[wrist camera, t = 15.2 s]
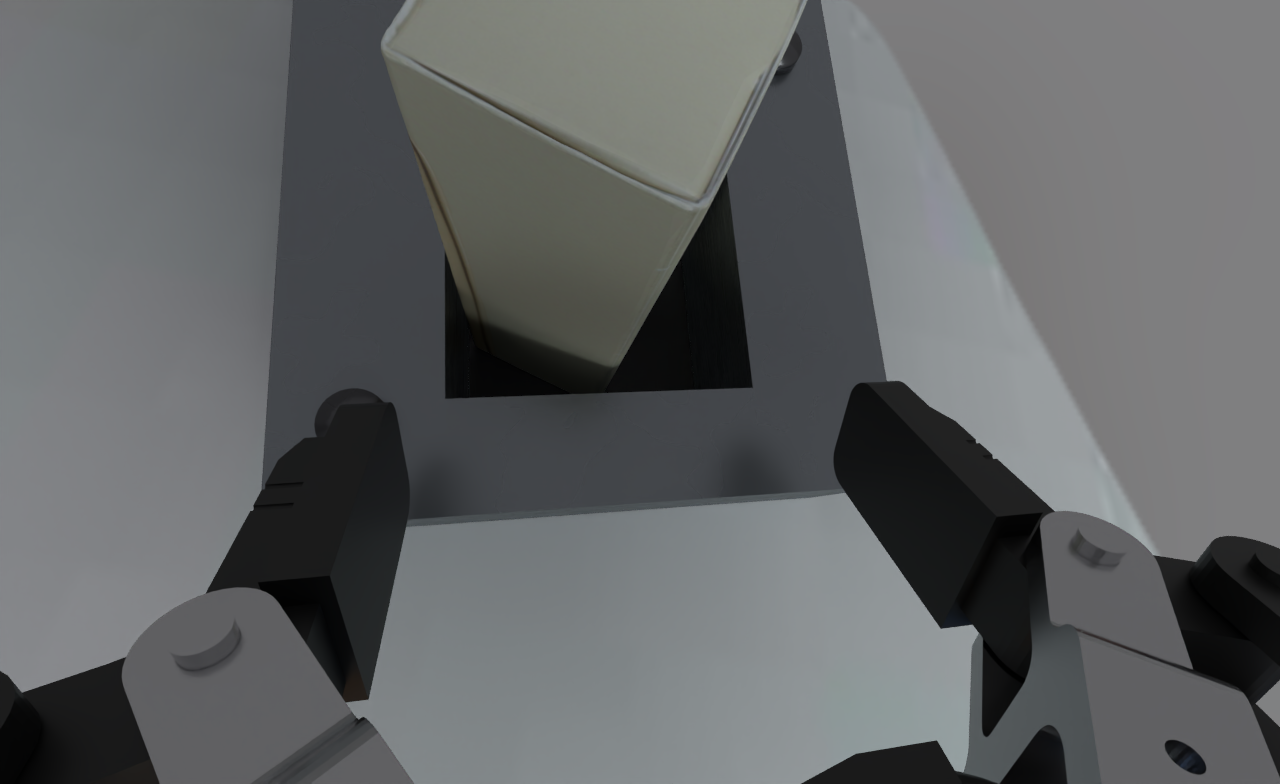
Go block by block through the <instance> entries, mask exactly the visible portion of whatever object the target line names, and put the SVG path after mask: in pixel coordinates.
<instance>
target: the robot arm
mask: <svg viewBox="0 0 1280 784" xmlns="http://www.w3.org/2000/svg"><path fill="white" fill-rule="evenodd" d="M833 463H834V470H835V474H836V477H837V480H838V482H839V484H840V485H841V487H842V488H843V490H844V491H845V492H846V494H847V495H848V497H849V498H850V500H851V501H852V502H853V504H854V505H855V507H856V508H857V510H858V511H859V512H860V514H861V515H862V517H863V518H864V520H865V521H866V522H867V524H868V525H869V527H870V528H871V530H872V531H873V532H874V534H875V535H876V537H877V538H878V540H879V541H880V542H881V544H882V545H883V547H884V548H885V550H886V551H887V552H888V554H889V555H890V557H891V558H892V560H893V561H894V562H895V564H896V565H897V567H898V568H899V570H900V571H901V572H902V574H903V575H904V577H905V578H906V580H907V581H908V582H909V584H910V585H911V587H912V588H913V590H914V591H915V592H916V594H917V595H918V597H919V598H920V600H921V601H922V602H923V604H924V605H925V607H926V608H927V610H928V611H929V612H930V614H931V615H932V617H933V618H934V620H935V621H936V622H937V624H938V625H939V627H940V628H941V629H942V628H950V627H957V626H965V625H973V626H974V627H975V628H976V630H977V631H978V632H979V634H978V636H977V638H976V639H975V641H974V643H973V645H972V654H971V688H970V721H969V749H968V756H967V761H966V766H965V769H964V772H963V773H962V772H958V771H955V770H954V769H953V767H952V765H951V764H950V762H949V760H948V759H947V757H946V755H945V753H944V752H943V750H942V748H941V747H940V745H939V743H938V741H931V742H925V743H919V744H913V745H907V746H901V747H895V748H889V749H883V750H877V751H871V752H865V753H859V754H855V755H853V756H851V757H850V758H848V759H846V760H844V761H842V762H840V763H839V764H837V765H835V766H833V767H831V768H829V769H827V770H826V771H824V772H822V773H820V774H818V775H816V776H815V777H813V778H811V779H809V780H807V781H805V782H804V783H802V784H1280V727H1279V726H1278V725H1277V724H1276V723H1275V722H1274V721H1273V720H1272V719H1271V718H1270V717H1269V716H1268V715H1267V714H1266V713H1265V712H1264V711H1263V710H1262V709H1260V708H1259V707H1258V706H1257V705H1256V704H1255V703H1256V702H1257V701H1258V700H1260V699H1261V698H1262V697H1263V695H1265V694H1266V693H1267V692H1268V691H1269V690H1270V689H1271V688H1272V687H1273V686H1274V685H1275V684H1276V683H1277V682H1278V681H1279V680H1280V549H1279V548H1276V547H1274V546H1271V545H1269V544H1266V543H1263V542H1260V541H1256V540H1253V539H1248V538H1243V537H1236V536H1224V537H1219V538H1216V539H1215V540H1213V541H1212V542H1211V544H1210V545H1209V546H1208V547H1207V549H1206V550H1205V551H1204V553H1203V554H1202V555H1201V556H1200V558H1199V559H1198V560H1197V562H1192V561H1186V560H1180V559H1173V558H1167V557H1160V556H1154V555H1152V553H1151V552H1150V551H1149V550H1148V549H1147V548H1146V547H1145V546H1144V545H1143V544H1142V543H1141V542H1139V541H1138V540H1137V539H1136V538H1134V537H1133V536H1132V535H1130V534H1129V533H1127V532H1125V531H1124V530H1122V529H1120V528H1119V527H1117V526H1115V525H1113V524H1111V523H1109V522H1106V521H1104V520H1102V519H1099V518H1096V517H1093V516H1090V515H1086V514H1083V513H1077V512H1070V511H1058V512H1055V511H1054V510H1053V509H1052V508H1050V507H1049V506H1048V505H1047V504H1046V503H1045V502H1044V501H1043V500H1042V499H1041V498H1039V497H1038V496H1037V495H1036V494H1035V493H1034V492H1033V491H1032V490H1031V489H1030V488H1028V487H1027V486H1026V485H1025V484H1024V483H1023V482H1022V481H1021V480H1020V479H1019V478H1017V477H1016V476H1015V475H1014V474H1013V473H1012V472H1011V471H1010V470H1009V469H1008V468H1006V467H1005V466H1004V465H1003V464H1002V463H1001V462H1000V461H999V460H998V459H993V458H992V454H991V453H990V452H989V451H988V450H987V449H986V448H984V447H983V446H982V445H981V444H980V443H978V444H976V439H975V438H973V437H972V436H971V435H970V434H969V433H968V432H967V431H966V430H965V429H964V428H962V427H961V426H960V425H959V424H958V423H957V422H956V421H954V420H952V419H951V418H949V417H947V416H945V415H943V414H942V413H940V412H938V411H936V410H934V409H933V408H931V407H929V406H928V405H927V404H926V403H925V402H924V401H923V400H922V399H921V398H920V397H919V396H917V395H916V394H915V393H914V392H913V391H912V390H911V389H910V388H909V387H908V386H907V385H906V384H904V383H903V382H900V381H887V382H864V383H859V384H857V385H856V386H855V387H854V388H853V389H852V391H851V394H850V397H849V400H848V404H847V407H846V411H845V414H844V418H843V421H842V425H841V428H840V432H839V435H838V439H837V442H836V446H835V450H834V456H833ZM253 506H254V510H253V511H250V513H249V515H248V516H247V518H246V520H245V522H244V524H243V526H242V528H241V529H240V531H239V533H238V535H237V537H236V539H235V540H234V542H233V544H232V546H231V548H230V550H229V551H228V553H227V555H226V557H225V559H224V561H223V563H222V564H221V566H220V568H219V570H218V572H217V574H216V575H215V577H214V579H213V581H212V583H211V585H210V586H209V588H208V590H207V592H206V594H204V595H201V596H198V597H196V598H194V599H191V600H189V601H187V602H185V603H183V604H181V605H179V606H177V607H176V608H174V609H172V610H171V611H169V612H168V613H166V614H165V615H163V616H162V617H160V618H159V619H158V620H157V621H156V622H154V623H153V624H152V625H151V626H150V627H149V628H148V629H147V630H146V631H145V632H144V633H143V634H142V635H141V636H140V637H139V638H138V640H137V641H136V642H135V643H134V645H133V646H132V648H131V649H130V651H129V653H128V655H127V656H126V657H125V658H122V659H120V660H117V661H114V662H112V663H109V664H106V665H103V666H100V667H97V668H94V669H91V670H88V671H85V672H82V673H79V674H77V675H74V676H71V677H68V678H65V679H62V680H59V681H56V682H53V683H50V684H47V685H44V686H41V687H38V688H35V689H32V690H29V691H26V692H23V693H22V692H21V691H20V690H19V689H18V687H17V686H16V685H15V684H14V683H13V681H12V680H11V679H10V678H9V677H8V676H7V675H6V674H4V673H2V672H1V671H0V784H414V783H413V781H412V780H411V779H410V777H409V776H408V774H407V773H406V771H405V770H404V768H403V767H402V765H401V764H400V763H399V761H398V760H397V758H396V757H395V755H394V754H393V752H392V751H391V750H390V748H389V747H388V745H387V744H386V742H385V741H384V739H383V738H382V737H381V735H380V734H379V732H378V731H377V730H376V729H375V727H374V726H373V725H372V724H371V723H370V722H369V721H368V720H367V719H366V718H364V717H362V718H361V719H359V720H358V719H357V718H356V716H355V715H354V714H353V713H352V711H351V710H350V708H349V707H348V705H347V704H346V702H352V701H360V700H368V699H369V694H370V690H371V685H372V681H373V676H374V671H375V667H376V662H377V658H378V653H379V648H380V644H381V639H382V635H383V630H384V626H385V621H386V616H387V612H388V607H389V603H390V598H391V593H392V589H393V584H394V580H395V575H396V570H397V566H398V561H399V557H400V552H401V547H402V543H403V538H404V534H405V529H406V525H407V520H408V515H409V507H410V485H409V477H408V471H407V466H406V461H405V455H404V450H403V445H402V439H401V434H400V429H399V423H398V418H397V413H396V410H395V407H394V405H393V403H391V402H383V403H360V404H342V405H340V406H339V407H338V409H337V411H336V413H335V415H334V418H333V420H332V422H331V424H330V426H329V428H328V431H327V433H326V435H325V437H310V438H304V439H303V440H301V441H300V442H299V443H298V444H296V445H295V446H294V447H293V448H292V449H290V450H289V451H288V452H287V453H286V454H284V455H283V456H282V457H281V458H280V459H278V461H277V463H276V465H275V467H274V469H273V470H272V472H271V474H270V476H269V478H268V480H267V481H266V483H265V489H262V491H261V492H260V494H259V496H258V498H257V500H256V502H255V504H254V505H253Z"/></svg>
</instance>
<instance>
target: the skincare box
mask: <svg viewBox="0 0 1280 784" xmlns="http://www.w3.org/2000/svg"><path fill="white" fill-rule="evenodd" d="M807 1H808V0H405V2H404V4H403V6H402V7H401V9H400V11H399V12H398V14H397V15H396V16H395V18H394V20H393V22H392V24H391V25H390V26H389V28H388V29H387V30H386V32H385V34H384V36H383V38H382V40H381V53H382V56H383V58H384V61H385V63H386V67H387V70H388V73H389V77H390V80H391V83H392V86H393V89H394V92H395V95H396V98H397V102H398V105H399V108H400V111H401V114H402V117H403V119H404V122H405V125H406V128H407V131H408V135H409V138H410V142H411V144H412V147H413V151H414V154H415V158H416V161H417V164H418V167H419V170H420V173H421V176H422V180H423V183H424V186H425V189H426V192H427V195H428V198H429V201H430V204H431V208H432V211H433V214H434V218H435V221H436V223H437V227H438V231H439V233H440V236H441V239H442V242H443V245H444V248H445V252H446V255H447V258H448V261H449V264H450V268H451V271H452V275H453V277H454V280H455V283H456V287H457V290H458V293H459V295H460V299H461V302H462V305H463V308H464V311H465V315H466V318H467V321H468V324H469V327H470V330H471V334H472V336H473V339H474V343H475V345H476V346H477V348H479V349H481V350H483V351H485V352H487V353H489V354H491V355H493V356H495V357H497V358H499V359H501V360H503V361H505V362H507V363H509V364H511V365H513V366H515V367H517V368H519V369H521V370H523V371H525V372H527V373H530V374H532V375H534V376H536V377H538V378H540V379H542V380H544V381H546V382H548V383H550V384H553V385H555V386H557V387H559V388H561V389H563V390H565V391H567V392H570V393H572V394H593V393H604V391H605V390H606V388H607V386H608V384H609V383H610V381H611V379H612V377H613V376H614V374H615V372H616V370H617V369H618V367H619V365H620V363H621V361H622V360H623V358H624V356H625V354H626V353H627V351H628V349H629V347H630V346H631V344H632V342H633V340H634V339H635V337H636V335H637V333H638V332H639V330H640V328H641V326H642V325H643V323H644V321H645V319H646V318H647V316H648V314H649V312H650V311H651V309H652V307H653V305H654V304H655V302H656V300H657V298H658V297H659V295H660V293H661V292H662V290H663V288H664V286H665V285H666V283H667V281H668V279H669V278H670V276H671V274H672V272H673V271H674V269H675V267H676V265H677V264H678V262H679V260H680V258H681V257H682V255H683V253H684V251H685V250H686V248H687V246H688V244H689V243H690V241H691V239H692V238H693V236H694V234H695V232H696V231H697V229H698V227H699V225H700V224H701V222H702V220H703V218H704V216H705V215H706V213H707V211H708V209H709V207H710V205H711V203H712V201H713V199H714V197H715V195H716V193H717V191H718V189H719V187H720V185H721V183H722V181H723V179H724V177H725V175H726V173H727V171H728V169H729V167H730V165H731V163H732V161H733V159H734V157H735V155H736V153H737V151H738V149H739V147H740V145H741V143H742V141H743V139H744V137H745V134H746V132H747V130H748V128H749V126H750V124H751V122H752V120H753V118H754V116H755V114H756V112H757V110H758V108H759V106H760V104H761V102H762V99H763V97H764V95H765V93H766V91H767V89H768V87H769V85H770V83H771V81H772V79H773V77H774V74H775V72H776V70H777V68H778V66H779V64H780V62H781V60H782V58H783V55H784V53H785V51H786V49H787V47H788V45H789V43H790V40H791V38H792V36H793V33H794V31H795V29H796V26H797V24H798V22H799V19H800V17H801V15H802V12H803V10H804V8H805V5H806V3H807Z"/></svg>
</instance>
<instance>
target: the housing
mask: <svg viewBox="0 0 1280 784" xmlns="http://www.w3.org/2000/svg"><path fill="white" fill-rule="evenodd" d="M404 2H405V0H293V15H292V30H291V45H290V61H289V76H288V91H287V107H286V122H285V137H284V153H283V168H282V184H281V199H280V214H279V230H278V245H277V260H276V276H275V291H274V306H273V322H272V337H271V353H270V368H269V383H268V399H267V414H266V429H265V445H264V460H263V476H262V489H265V483H266V481H267V480H268V478H269V476H270V474H271V472H272V470H273V469H274V467H275V465H276V463H277V461H278V459H280V458H281V457H282V456H283V455H284V454H286V453H287V452H288V451H289V450H290V449H292V448H293V447H294V446H295V445H296V444H298V443H299V442H300V441H301V440H303V439H304V438H310V437H325V435H326V433H327V431H328V428H329V426H330V424H331V422H332V420H333V418H334V415H335V413H336V411H337V409H338V407H339V406H340V405H342V404H360V403H383V402H391V403H393V405H394V407H395V410H396V413H397V418H398V423H399V429H400V434H401V439H402V445H403V450H404V455H405V461H406V466H407V471H408V477H409V485H410V507H409V515H408V520H407V525H406V527H410V526H424V525H438V524H451V523H465V522H479V521H493V520H506V519H520V518H534V517H548V516H562V515H575V514H589V513H603V512H617V511H630V510H644V509H658V508H672V507H685V506H699V505H713V504H727V503H741V502H754V501H768V500H782V499H796V498H809V497H818V496H825V495H832V494H839V493H846V492H845V491H844V490H843V488H842V487H841V485H840V484H839V482H838V480H837V477H836V474H835V470H834V463H833V456H834V450H835V446H836V442H837V439H838V435H839V432H840V428H841V425H842V421H843V418H844V414H845V411H846V407H847V404H848V400H849V397H850V394H851V391H852V389H853V388H854V387H855V386H856V385H857V384H859V383H864V382H887V380H886V374H885V369H884V363H883V357H882V351H881V346H880V340H879V334H878V328H877V323H876V317H875V311H874V305H873V299H872V294H871V288H870V282H869V276H868V271H867V265H866V259H865V253H864V248H863V242H862V236H861V230H860V225H859V219H858V213H857V207H856V201H855V196H854V190H853V184H852V178H851V173H850V167H849V161H848V155H847V150H846V144H845V138H844V132H843V127H842V121H841V115H840V109H839V104H838V98H837V92H836V86H835V80H834V75H833V69H832V63H831V57H830V52H829V46H828V40H827V34H826V29H825V23H824V17H823V11H822V6H821V0H808V1H807V3H806V5H805V8H804V10H803V12H802V15H801V17H800V19H799V22H798V24H797V26H796V29H795V31H794V33H793V36H792V38H791V40H790V43H789V45H788V47H787V49H786V51H785V53H784V55H783V58H782V60H781V62H780V64H779V66H778V68H777V70H776V72H775V74H774V77H773V79H772V81H771V83H770V85H769V87H768V89H767V91H766V93H765V95H764V97H763V99H762V102H761V104H760V106H759V108H758V110H757V112H756V114H755V116H754V118H753V120H752V122H751V124H750V126H749V128H748V130H747V132H746V134H745V137H744V139H743V141H742V143H741V145H740V147H739V149H738V151H737V153H736V155H735V157H734V159H733V161H732V163H731V165H730V167H729V169H728V171H727V173H726V175H725V177H724V179H723V181H722V183H721V185H720V187H719V189H718V191H717V193H716V195H715V197H714V199H713V201H712V203H711V205H710V207H709V209H708V211H707V213H706V215H705V216H704V218H703V220H702V222H701V224H700V225H699V227H698V229H697V231H696V232H695V234H694V236H693V238H692V239H691V241H690V243H689V244H688V246H687V248H686V250H685V251H684V253H683V255H682V257H681V260H682V271H683V281H684V291H685V301H686V311H687V321H688V331H689V341H690V351H691V362H692V372H693V382H694V390H677V391H649V392H621V393H593V394H566V395H538V396H510V397H482V398H469V324H468V321H467V318H466V315H465V311H464V308H463V305H462V302H461V299H460V295H459V293H458V290H457V287H456V283H455V280H454V277H453V275H452V271H451V268H450V264H449V261H448V258H447V255H446V252H445V248H444V245H443V242H442V239H441V236H440V233H439V231H438V227H437V223H436V221H435V218H434V214H433V211H432V208H431V204H430V201H429V198H428V195H427V192H426V189H425V186H424V183H423V180H422V176H421V173H420V170H419V167H418V164H417V161H416V158H415V154H414V151H413V147H412V144H411V142H410V138H409V135H408V131H407V128H406V125H405V122H404V119H403V117H402V114H401V111H400V108H399V105H398V102H397V98H396V95H395V92H394V89H393V86H392V83H391V80H390V77H389V73H388V70H387V67H386V63H385V61H384V58H383V56H382V53H381V40H382V38H383V36H384V34H385V32H386V30H387V29H388V28H389V26H390V25H391V24H392V22H393V20H394V18H395V16H396V15H397V14H398V12H399V11H400V9H401V7H402V6H403V4H404Z"/></svg>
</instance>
